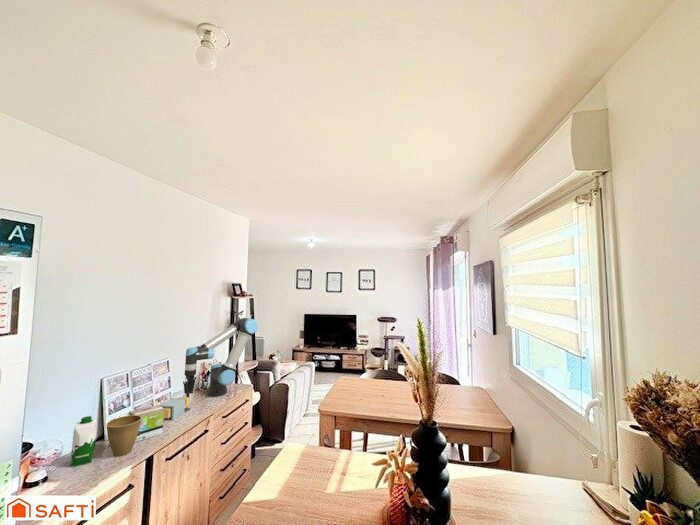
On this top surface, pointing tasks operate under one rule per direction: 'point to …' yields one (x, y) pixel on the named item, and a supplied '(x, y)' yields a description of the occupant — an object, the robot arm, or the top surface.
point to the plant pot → (123, 433)
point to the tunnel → (175, 407)
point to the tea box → (149, 421)
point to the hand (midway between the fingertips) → (188, 402)
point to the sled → (169, 410)
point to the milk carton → (84, 441)
